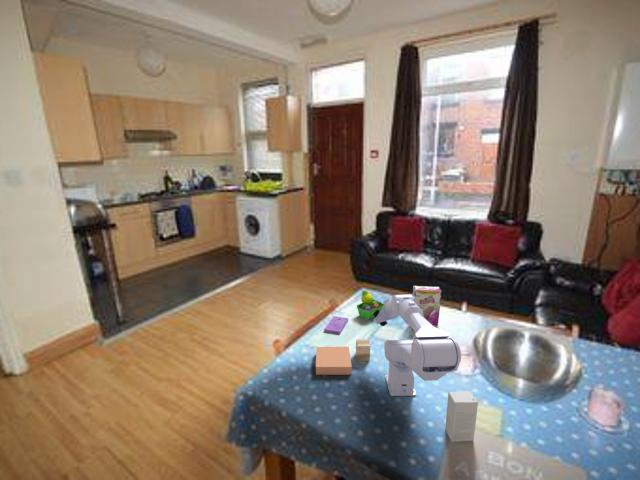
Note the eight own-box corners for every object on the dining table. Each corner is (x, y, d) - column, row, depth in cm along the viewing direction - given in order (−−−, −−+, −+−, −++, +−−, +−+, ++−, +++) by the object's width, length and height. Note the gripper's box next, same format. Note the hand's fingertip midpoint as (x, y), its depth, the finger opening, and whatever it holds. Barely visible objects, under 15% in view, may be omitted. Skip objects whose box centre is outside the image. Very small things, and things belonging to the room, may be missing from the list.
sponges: (348, 321, 148) (348, 317, 148) (339, 335, 137) (339, 331, 136) (333, 319, 151) (333, 315, 150) (323, 332, 139) (323, 328, 139)
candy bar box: (412, 325, 144) (414, 289, 140) (410, 319, 149) (412, 285, 144) (438, 326, 143) (442, 290, 139) (436, 320, 148) (439, 286, 143)
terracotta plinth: (351, 374, 112) (351, 366, 111) (315, 374, 112) (315, 366, 111) (348, 353, 124) (348, 346, 123) (316, 353, 124) (316, 346, 123)
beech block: (369, 360, 119) (370, 345, 118) (357, 360, 119) (357, 346, 118) (368, 353, 124) (368, 339, 122) (355, 353, 124) (356, 339, 122)
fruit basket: (366, 322, 147) (367, 298, 144) (353, 314, 154) (353, 291, 151) (384, 314, 153) (385, 292, 150) (371, 307, 160) (372, 286, 157)
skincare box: (466, 428, 90) (471, 390, 87) (473, 441, 86) (479, 402, 83) (444, 429, 90) (448, 391, 87) (450, 442, 85) (455, 403, 82)
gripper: (404, 285, 112) (394, 291, 125) (371, 310, 109) (364, 314, 122) (418, 302, 110) (406, 307, 123) (384, 328, 107) (376, 330, 120)
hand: (386, 312), depth 122 cm, fingers open, 7 cm apart
